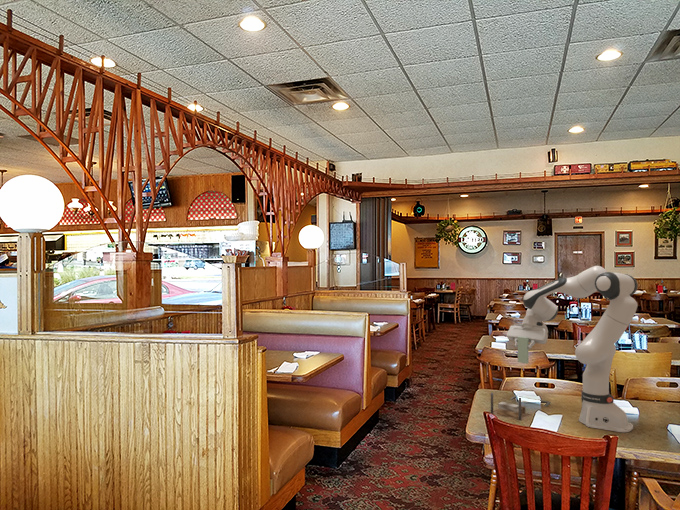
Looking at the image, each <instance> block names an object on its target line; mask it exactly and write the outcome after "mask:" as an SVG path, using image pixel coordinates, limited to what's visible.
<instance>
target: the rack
mask: <svg viewBox="0 0 680 510" xmlns="http://www.w3.org/2000/svg"><path fill="white" fill-rule="evenodd" d="M518 405H519V417H518V418H514V417H509V416H505V415H500V414H497V409H495V410H494V392H490V413H492V414H491V415H496V416H498V417H500V416H501V417H504V418H509V419H513V420H518V421H523V420H525V419H527V418H528V417H530V416H532V413H529V412H528V413H527V412H526V406H523V405H522V402H521V398H519V401H518Z"/></svg>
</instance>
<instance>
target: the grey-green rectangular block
mask: <svg viewBox="0 0 680 510" xmlns="http://www.w3.org/2000/svg"><path fill="white" fill-rule="evenodd" d="M517 343H518V347H517V363H520V364H526V365H527V364H529V349H528V348H527V346H528V344H530V342H529V338H528V337H518V342H517Z"/></svg>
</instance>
